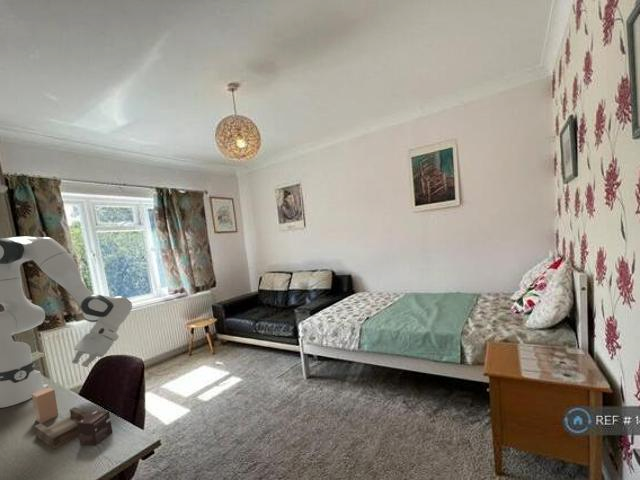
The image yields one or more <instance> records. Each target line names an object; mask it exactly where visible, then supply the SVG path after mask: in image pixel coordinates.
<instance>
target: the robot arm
mask: <svg viewBox="0 0 640 480" xmlns="http://www.w3.org/2000/svg"><path fill="white" fill-rule="evenodd" d="M32 262H34V263H35V264H36V265H37V267H38V268H40V269H41V271H42V272H43V273H44V274H45V275H46V276H48V277H49V278H50V279H52V280H53V281H54V282H56V283H57V284H58V285H60V286H61V287H62V288H63V289H64V290H65V291H67V292H68V294H69V295H70V296H71V297H72V298H73V300H74V301H75V302H76V303H77V305H78V306H79V308H80V309H81V310H80V311H81V316H82V318H83V319H84V320H85V321H87V322H89V323H95V324H94V325H93V326H92V327H91V329H90V330H89V332H88V333H86V334H85V335H84V336H83V337H82V338H81V339H80V340H79V341H78V343H77V344H76V345H75V347H74V349H73V350H75V352H76V353H75V355H74V358H73V359H72V361H71V363H72V364H75V365H77V364H78V363H79V362H80V359H81V358H82V356H84V354H87V355H89V356H88V358H87V359H85V360H84V361H83V363H81V366H82V367H84V368H88V367H89V365H90V364H91V363H92V362H93V361H95V359H96V358H97V357H98V358H103V357H104V356H105V355H106V354H107V353H108V351H110V349H111V347H112V346H113V344H114V343H115V341H117V340H118V339H119V337H120V336H119V335H118V333H117V332H118V330H119V328H120V326H122V324H123V323H124V322H125V320H126V319H127V318H128V316H129V315H130V314H131V312H132V309H133V303H132V302H131V301H130V299H128V298H127V297H125V296H123V295H118V296H108V295H107V296H106V295H101V294H97V293H95V294H93V293H92V291H90V289H89V288H87V286H86V285H85V284H84V282H83V279H82V278H81V276H80V271H79V267H78V265H77V263H76V261H75V259H74V258H73V257H72V255H71V254H70V253H69V252H68V251H67V249H66V248H65V247H63V245H62V244H60V243H59V242H57V240H55V239H54V238H52V237H49V236H46V237H45V236H43V237H40V236H36V235H35V236H34V235H31V236H24V235H23V236H22V235H21V236H13V237H0V305H2V307H3V308H4V310H3V311H0V409H2V408H7V407H10V406H15V405H17V404H21V403H23V402H25V401H28V400H31V399H32V394H34V393H36V392H39V391H41V390H43V389H46V388H48V387H49V384H45V383H44V382H43V379H42V378H43V377H42V373H41V371H40V370H37V369H36V363H35V362H34V360H33V357H32V356H33V355H32V351H31V350H32V349H31V346H30V344H28V343H27V342H23V341H15V340H14V338H13V336H14V335H16V334H20V333H22V332H25V331H29V330H32V329H34V328H36V327H38V326H40V325H42V324H43V323H44V321H45V319H46V312H45V310H44V308H43V307H41V306H39V305H38V304H37V305H36V304H35V303H32V302H31V301H30V300H29V299H28V298H27V297H26V295H25V292H24V289H23V288H24V287H23V284H22V275H21V265H22V264H24V263H32ZM40 269H39V270H40Z"/></svg>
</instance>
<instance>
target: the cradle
mask: <svg viewBox="0 0 640 480" xmlns="http://www.w3.org/2000/svg"><path fill="white" fill-rule="evenodd" d="M90 414H91V413H88V412H86V411H84V410H82V409H79V408H78V407H76V406H74V407H71V408H70V409H69V416H68V417H66V418H63V419H62V420H59V421H58V422H56V423H54V424H52V425H50V426H48V427H47V426H45V425H44V424H43V423H37V424H36V425H34V431H35V436H36V437H37V438H38V439H39V440H41V441H42V442H43V443H45V444H46V445H47V446H49V447H50V448H52V449H53V450H56V449H59V448H60V447H62V446H64V445H66V444H68V443H70V442H71V441H73V440H75V439H77V438H79V433H78V427H77V423H78V422H79V421H81V420H82V419H84V418H85V417H86V416H88V415H90Z"/></svg>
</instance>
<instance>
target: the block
mask: <svg viewBox="0 0 640 480" xmlns="http://www.w3.org/2000/svg"><path fill="white" fill-rule="evenodd" d="M55 391H56V390H55V389H54V388H52V387H50V386H48V387H47V388H46V389H43V390H41V391H39V392H36V393H34V394H32V398H31V399H32V405H33V409H34V410H33V411H34V417H35V421H37V422H38V424H40V423H41V424H43V423H45V422H48V421H49V420H51V419H52V420H53V418H56V417H58V416H59V411H58V410H59V409H58V404H57V397H56V393H55Z"/></svg>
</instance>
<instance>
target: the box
mask: <svg viewBox="0 0 640 480" xmlns="http://www.w3.org/2000/svg"><path fill="white" fill-rule="evenodd" d="M89 414H90V415H88V416H86V417H85V418H84V419H82V420H81V421H79V422H78V423H77V427H78V433H79V436H78V438H79V439H78V440H79V445H80V446H93V447H94V446H95V447H96V446H97V445H99V444H100V443H101V442H103V441H104V440H105V439H106V438H108V437H109V436H110V435H112V433H113V427H112V420H111V416H110V411H108V410H104V411H103V410H96V411H93V412H91V413H89Z"/></svg>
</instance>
